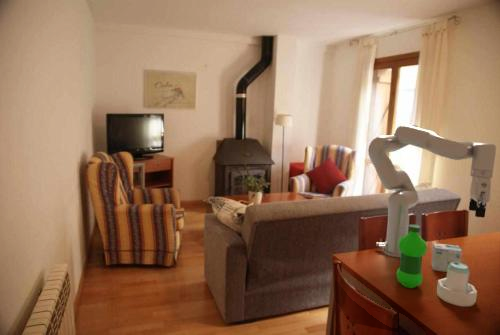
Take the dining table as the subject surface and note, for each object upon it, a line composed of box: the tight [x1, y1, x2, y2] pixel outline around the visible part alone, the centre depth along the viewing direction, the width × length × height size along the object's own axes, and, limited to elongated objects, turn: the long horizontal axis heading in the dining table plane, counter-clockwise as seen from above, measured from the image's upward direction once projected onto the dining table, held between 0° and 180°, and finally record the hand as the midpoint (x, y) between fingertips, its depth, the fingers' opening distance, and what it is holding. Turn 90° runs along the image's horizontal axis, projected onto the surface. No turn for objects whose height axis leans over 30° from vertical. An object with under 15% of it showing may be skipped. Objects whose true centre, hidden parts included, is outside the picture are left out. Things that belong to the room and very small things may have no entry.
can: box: [445, 262, 470, 293], centre depth 129 cm, size 7×7×12 cm
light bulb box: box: [430, 242, 463, 273], centre depth 153 cm, size 11×7×11 cm, turn 71°
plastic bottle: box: [396, 223, 428, 289], centre depth 137 cm, size 10×10×25 cm
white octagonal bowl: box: [436, 277, 478, 308], centre depth 129 cm, size 12×12×5 cm
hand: (476, 213), depth 142 cm, fingers open, 9 cm apart
